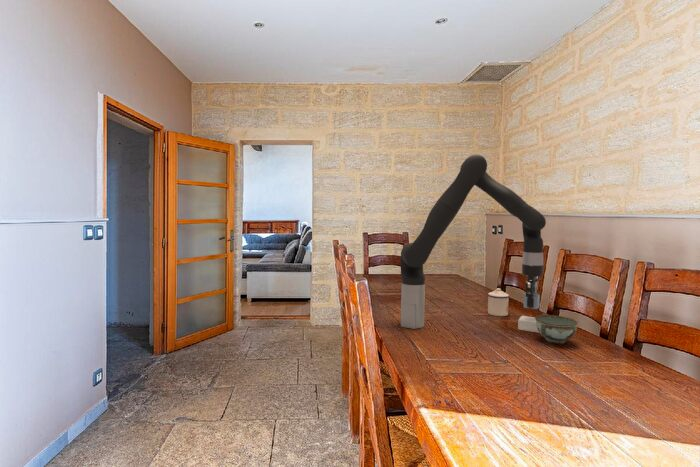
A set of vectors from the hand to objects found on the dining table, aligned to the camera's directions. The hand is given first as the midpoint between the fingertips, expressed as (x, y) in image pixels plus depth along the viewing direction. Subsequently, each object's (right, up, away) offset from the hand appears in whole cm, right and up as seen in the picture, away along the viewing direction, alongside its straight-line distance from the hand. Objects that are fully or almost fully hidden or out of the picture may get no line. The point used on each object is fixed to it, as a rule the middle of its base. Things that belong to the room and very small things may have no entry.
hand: (531, 305), depth 152 cm
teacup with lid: (-5, -8, +24) cm, 26 cm away
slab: (0, -9, 0) cm, 9 cm away
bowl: (+1, -10, -15) cm, 18 cm away
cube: (0, 0, 0) cm, 0 cm away
